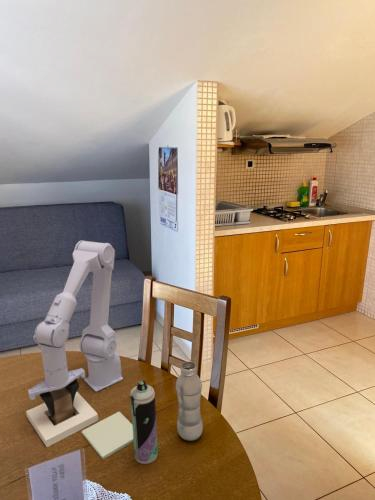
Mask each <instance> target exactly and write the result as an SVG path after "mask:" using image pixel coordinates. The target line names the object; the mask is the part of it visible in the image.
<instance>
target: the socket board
mask: <svg viewBox="0 0 375 500" xmlns="http://www.w3.org/2000/svg"><path fill="white" fill-rule="evenodd" d="M25 413H26V418H27V420H28V421H29V422H30V424H31V425H32V427H33V428H34V430H35V432H36V433H37V434H38V436H39V438H40V439H41V440H42V442H43V444H44V445H45V447H46V448H48V447H50V446H52V445H54V444H56V443H57V442H60V441H62V440H64V439H65V438H67V437H70V436H71V435H74V434H75V433H77V432H79V431H82V430H84V429H86V428H88V427H90V426H92V425H94V423H95V424H96V423H97V422H99V414H98V413H97V411H96V410H95V409H94V408H93V407H92V406H91V405H90V404H89V403H88V402H87V401H86V399H84V397H83V396H81V394H80V393H79V392H78V391H77V392H76V395H75V398H74V403H73V414H75V415H74V416H73V417H71V418H69V419H67V420H65V421H63V422H61V423H59V424H57V425H56V424H55V425H54V423H53V422H52V421H51V420H50V418H49V417H51V415H50V413H49V411H48V408H47V406H46V404H45V402H43V403H41V404H40V405H36V406H35V407H32V408H30V409H27V410H26V411H25Z"/></svg>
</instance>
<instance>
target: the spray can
mask: <svg viewBox="0 0 375 500" xmlns="http://www.w3.org/2000/svg"><path fill="white" fill-rule="evenodd" d="M155 395H156V392H155V389H154V387H152V386H151V385H149V384H146V381H145V380H141V381H138V382H137V385H136V386H134V387H133V388H132V389H131V391H130V396H129V399H130V410H131V411H130V413H131V424H132V426H133V440H134V442H133V451H134V459H135V460H136V462H137V463H140V464H142V465H148V464H152V463H153V462H154V461H156V459H158V458H157V457H158V454H159V453H158V452H159V451H158V433H157V416H156V415H157V414H156V413H157V412H156V411H157V410H156V396H155Z"/></svg>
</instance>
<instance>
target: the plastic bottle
mask: <svg viewBox="0 0 375 500" xmlns="http://www.w3.org/2000/svg"><path fill="white" fill-rule="evenodd" d="M197 371H198V370H197V365H196V363H195V362H193V361H183V362H182V363H181V365H180V374H179V376H178V377H177V378H176V382H175V389H176V393H177V394H176V395H177V402H178V403H177V404H178V416H177V421H176V428H177V429H176V430H177V433H178V435H179V436H180V438H182V439H183V440H185V441H189V442H192V441H195V440H198V439H199V438H200V437H201V436H202V433H203V428H204V424H203V420H202V415H201V398H202V397H201V396H202V392H203V391H202V389H203V382H202V380H201V378H200V376H199V375H198V374H197V373H198V372H197Z"/></svg>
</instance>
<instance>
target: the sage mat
mask: <svg viewBox="0 0 375 500" xmlns="http://www.w3.org/2000/svg"><path fill="white" fill-rule="evenodd" d="M81 435H82V436H83V437H84V438H85V439H86V440H87V442H88V443H89V445H91V447H92V448H93V449H94V450H95V452H96V453H97V455H98V456H99V457H100V458H101V459H102V460H105V459H106V458H108V457H110V456H112V455H113V454H115V453H116V452H118V451H120V450H122V449H123V448H125V447H126V446H128V445H130V444H131V443H134V440H133V426H132V422H130V421H129V420H128V418H126V417H125V415H123V413H121V411H117V412H116V413H114V414H111V415H110V416H108V417H105V418H104V419H102V420H100V421H97V422H95V424H94V423H93V424H91V425H89V426H87V427H86V428H84V429H82V430H81Z"/></svg>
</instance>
